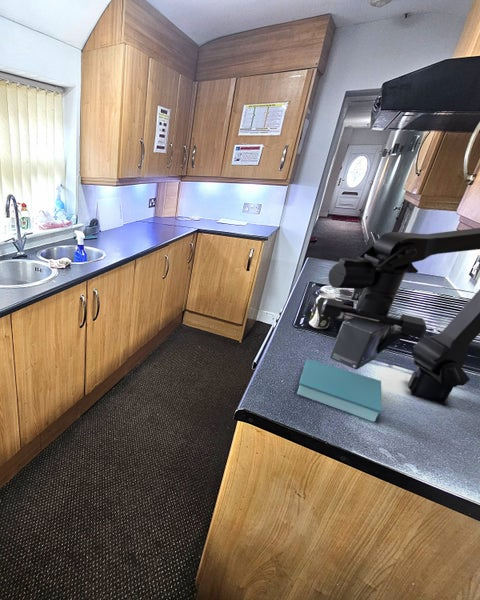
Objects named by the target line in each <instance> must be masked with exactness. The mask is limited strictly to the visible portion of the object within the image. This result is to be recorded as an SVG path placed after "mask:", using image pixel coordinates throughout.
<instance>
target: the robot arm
mask: <svg viewBox="0 0 480 600" xmlns="http://www.w3.org/2000/svg"><path fill="white" fill-rule="evenodd" d="M477 250H480V227H476V228H475V227H474V228H467V229H459V230H450V231H442V232H433V233H416V232H415V233H414V232H403V231H402V232H401V231H400V232H399V231H390V232H385V233H382V234H381V235H380V237H379V238H377V240H376V241H375V242H374V243H373V244H371V245H370V246H369V247H367V248H366V249H365V250H364V251H362V253H360V254H359V255H358V256H356V259H353V258H347V257H341V258H339V261H338V263H335V264H334V265H332V267H331V268H330V269H329V272H328V283H329V285H330V286H331V287H332V288H334V289H351V290H353V291H352V293H351V296H350V300H351V301H356V306H355V307H356V308H353V307H349V306H344V303H345V301H341V300H337V299H335V300H332V299H326V300H325V301H324V303H323V306H322V309H321V312H320V314H321V315H324V316H328V317H329V320H330V321H332V323H333V325H334V327H335V332H336V337H337V336H338V333H339V331H340V328H341V326H342V323H343V322H344V321H345V317H346V316H349V317H352V318H353V317H357V318H361V319H366V320H370V321H375V322H379V323H384V324H388V325H390V327H389V329H388V332H387V333H386V335H385V337H384V338H383V340H382V341H381V343H380V345H379V347H378V349H377V353H378V355H379V354H381V353H382V352H383V351H384V350H385V349H387V348H388V347H389V346H390V345H392V344H393V343H395V342H397V341H399V340H401V339H402V338H404V339H409V337H413V338H418V339H419V340H418V342H417V343H416V344H414V345H412V351H411V356H412V359H413V365H415V366H416V367H418V369H417V371H413V372H412V374H411V375H410V378H409V380H408V382H407V388H408V390H409V394H410V396H413V397H416V398H419V399H422V400H426V401H428V402H432V403H434V404H435V403H436V404H438V405H440V406H441V405H442V406H446V407H447V406H448V401H447V399H448V398H449V396H450V394H451V393H452V390H454V388H457V387H459V386H465V385H466V384H467V383H468V382H469V381H470V380H471V379H470V377H469V376H468V374H467V373H466V372H465V371H464V369H463V367H464V365H465V364H466V362H467V361H468V359H469V346H470V344H471V343H472V342H473V341H474V340H476V338H477V337H478V336H479V335H480V289H478V290H477V292H476V293H475V294H474V295H473V296H472V297H471V298H470V300H469V301H468V302H466V304H465V305H464V306H463V308H461V310H460V311H459V312H458V313H457V314H456V315H455V316H454V317H453V318H452V320H451V321H450V322H449V323H448V324H447V325H446V327H445V328H444V329H443V330H441V332H440V333H437V334H434V335H431V336H429V335H427V334H426V332H427V330H428V327H427V324H426V320H425V319H424V318H423V317H418V316H413V315H408V314H404V313H402V314H401V315H400V317H395V316H390V315H389V313H390V310H391V308H392V306H393V304H394V302H395V299H396V296H397V294H398V292H399V289H400V287H401V285H402V282H403V279H404V277H405V274H418V272H419V270H418V269H417V268H416V267H415V266H414V264H413V263H416V262H420V261H424V260H426V259H428V258H429V257H431V256H435V255H441V254H442V255H443V254H450V253H460V252H468V251H477Z"/></svg>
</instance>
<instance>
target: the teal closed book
mask: <svg viewBox="0 0 480 600" xmlns="http://www.w3.org/2000/svg"><path fill="white" fill-rule="evenodd" d="M298 385H299V387H298V389H297V392H296V395H299V396H301V397H305V398H307V399H310V400H313V401H315V402H318V403H321V404H324V405H326V406H329V407H331V408H335V409H338V410H340V411H343V412H345V413H348V414H352V415H354V416H357V417H360V418H362V419H364V420H365V419H366V420H368V421H371V422H374V423H375V422H376V420H377V418H378V415H379V414H382V412H383V404H382V403H383V400H382V380H380V379H377V378H373V377H370V376H366V375H363V374H359V373H357V372H353V371H350V370H347V369H344V368H340V367H336V366H333V365H330V364H326V363H323V362H320V361H316V360H313V359H310V358H306V362H305V364H304V366H303V370H302V373H301V376H300V379H299V383H298Z"/></svg>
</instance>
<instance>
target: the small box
mask: <svg viewBox="0 0 480 600" xmlns="http://www.w3.org/2000/svg"><path fill="white" fill-rule="evenodd" d="M389 327H390V325H388V324H384V323H379V322H375V321H370V320H366V319H361V318H357V317H353V316H352V317H351V318H349V319H347V320H344V322H343V323H342V326H341V328H340V331H339V333H338V336H337V335H336V338H335V342H334V345H333V347H332V349H331V352H330V354H329V356H328V358H329V359H331V360H333V361H336V362H338V363H340V364H342V365H344V366H347V367H349V368H352V369H353V370H359V369H361V368H362V367H363V366H365V365H367V364H369V363H370V362H372V361H373V360H375V359H377V357H378V355H379V354H378V353H377V349H378V347H379V345H380V343H381V341H382V340H383V338H384V337H385V335H386V333H387V332H388V329H389Z"/></svg>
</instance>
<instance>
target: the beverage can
mask: <svg viewBox="0 0 480 600" xmlns="http://www.w3.org/2000/svg"><path fill="white" fill-rule="evenodd" d="M326 299H332V300H336V296H335V295H333V294H330V293H325V292H323V293H319V295H318V296H316V299H315V301H314V304H313V307H312V309H311V310H312V311H311V314H310V318H309V320H308V324H309V325H310V326H311V327H313V328H315V329H319V330H325V329H327V328H328V327H329V326H330V322H331V320H329V317H328V316H324V315H321V314H320V312H321V309H322V306H323V303H324V301H325V300H326Z"/></svg>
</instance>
